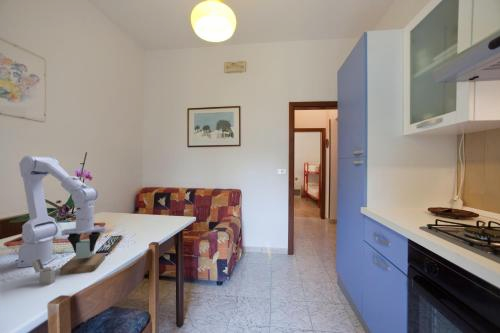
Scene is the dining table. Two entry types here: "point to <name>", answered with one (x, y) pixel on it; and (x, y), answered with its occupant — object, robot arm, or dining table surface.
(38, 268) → the lighter
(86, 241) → the teal block
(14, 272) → the dining table surface
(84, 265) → the walnut base
